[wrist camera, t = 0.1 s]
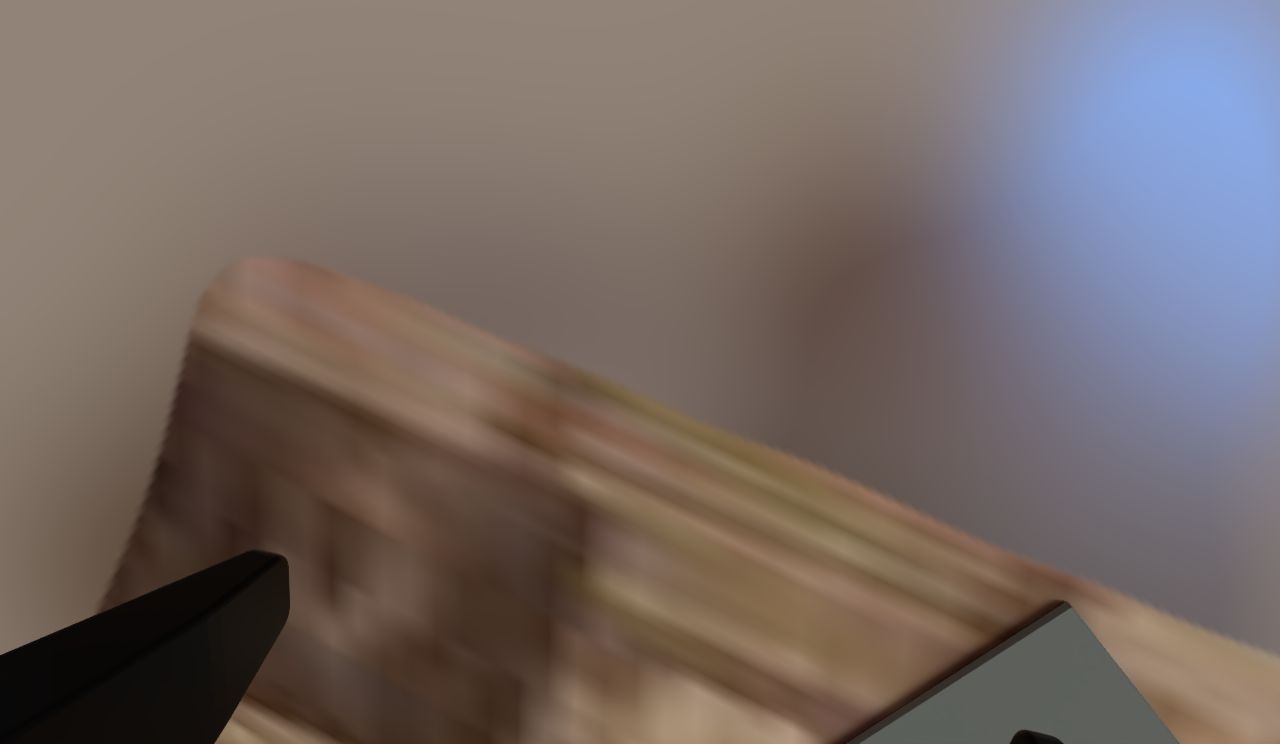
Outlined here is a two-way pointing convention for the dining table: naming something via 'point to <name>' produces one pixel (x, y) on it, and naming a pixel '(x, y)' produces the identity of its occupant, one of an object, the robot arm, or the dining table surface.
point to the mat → (1030, 695)
